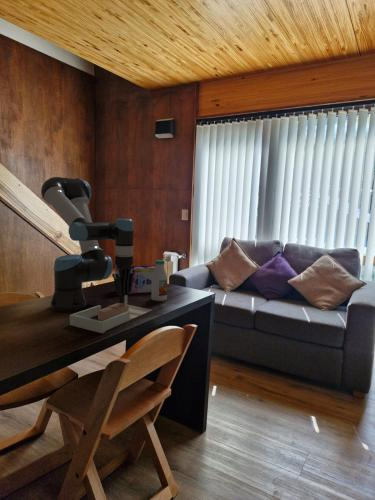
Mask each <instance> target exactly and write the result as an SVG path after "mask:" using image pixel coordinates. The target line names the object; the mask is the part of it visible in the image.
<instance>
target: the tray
mask: <svg viewBox="0 0 375 500" xmlns="http://www.w3.org/2000/svg"><path fill="white" fill-rule="evenodd" d="M101 309H102V305H100V304H99V305H96V306H92V307H89V308H87V309H84V310H83V309H82V310H80V311H78V312H77V311H76V312H74V313H72V314H69V326H73V327H76V328H80V329H84V330H87V331H91V332H96V333H100V334H104V333H106V332H107V331H108V330H111V329H113V328H116V327H118V326H120V325H122V324H124V323H127V322H129V321H131V320H130V312H129V311H127V312H124V313H122V314H119V315H117V316H114V317H112V318H109V319H107V320H104V321H102V320H98V319H94V318H95V317H96V316H98V310H101ZM93 317H94V318H93Z"/></svg>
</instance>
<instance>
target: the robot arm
mask: <svg viewBox="0 0 375 500" xmlns="http://www.w3.org/2000/svg"><path fill="white" fill-rule="evenodd" d="M40 194H41V197H42V199H43V200H44V202H45V203H46V204H47V205H49V206H51V207H52V208H53V209H54V210H55V212H56V213H57V214H58V215H59V216H60V218H61V219H62V220H63V222H64V223H66V225H67V226H68V235H69V238H70V240H71V241H74V242H78V244H79V247H80V251H81V252H80V254H77V253H74V254H66V255H61V256H58V257H56V258H55V259H54V264H53V271H54V272H53V275H54V276H53V277H54V280H53V281H54V283H53V284H54V286H53V287H54V291H53V295H52V298H51V301H50V309H51V310H52V311H54V312H60V313H63V312H64V313H65V312H66V313H67V312H68V313H70V312H75V311H79V310H83V309H84V308H86V307H87V301H86V298H85V295H84V292H83V284H84V283H89V282H91V283H92V282H98V281H103V280H104V281H105V280H107V279H109V277H110V276H112V278H113V282H114V289H115V294H116V295H119V303H120V304H125V305H128V301H129V299H128V298H129V295H130V294H131V293H129V292H131V290H132V283H133V277H134V273H135V270H132V267H131V266H133V264H134V234H135V231H134V230H135V227H134V220H133V219H132V218H117V219H115V222H111V221H104V222H100V221H99V222H97V221H95V222H93V220H92V216H91V213H90V209H89V206H88V205H89V204H90V200H91V199H92V188H91V186H90V184H89V183H88V181H86V180H84V179H80V178H77V177H76V178H71V177H69V178H68V177H60V176H53V177H50V178H48V179H46V180H45V181H44V182H43V184H42V186H41V187H40ZM105 240H107V241H110V240H111V241H114V243H115V245H114V246H115V249H114V250H115V257H114V258H115V259H114V264H115V265H116V267H117V269H116V268H115V273H114V272H113V273H112V271H113V268H114V266H113V259H112V257H111V256H110V255H107V254H106V253H105V250H104V249H102V248H101V247H100V245H99V242H98V241H105Z"/></svg>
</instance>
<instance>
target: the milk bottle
mask: <svg viewBox="0 0 375 500" xmlns="http://www.w3.org/2000/svg"><path fill="white" fill-rule="evenodd" d="M165 262H166V261H165V260H163V259H156V260H155V265H156V267H155V270H154V272H153V275H152V292H151V295H150V298H151V300H152V301H158V302H164V301H167V298H168V275H167V272H166V269H165Z"/></svg>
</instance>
